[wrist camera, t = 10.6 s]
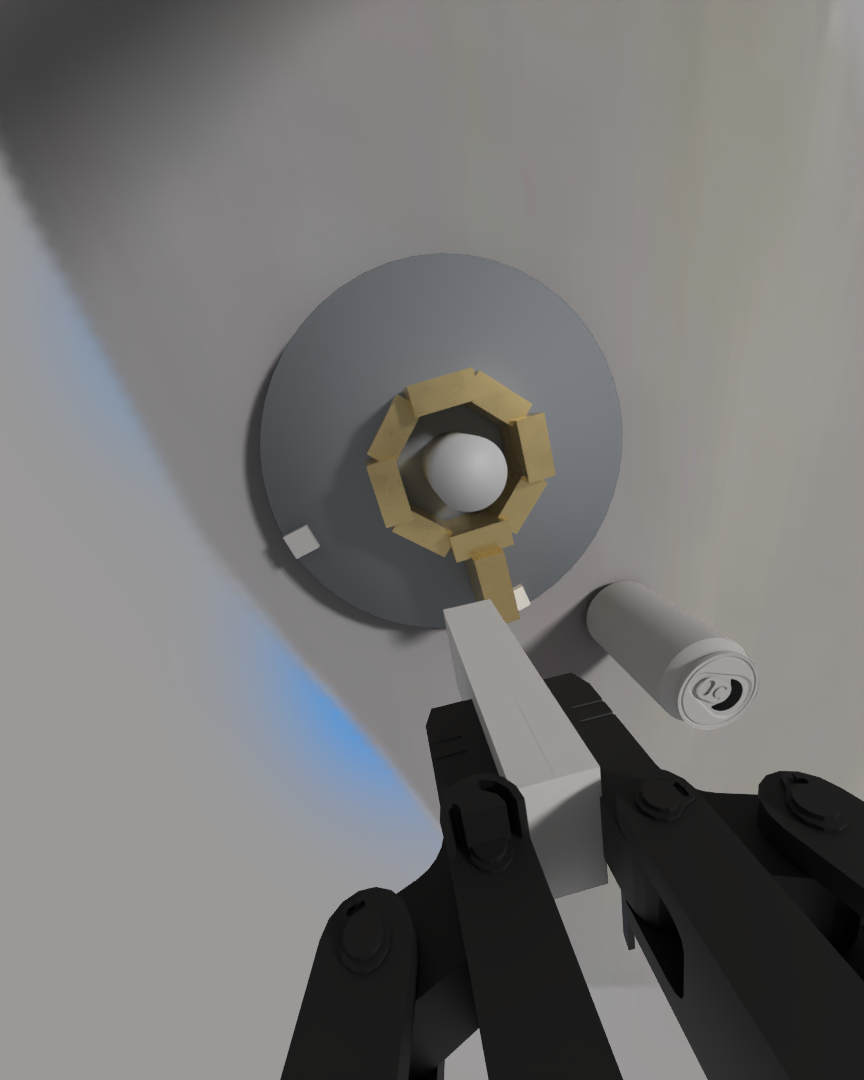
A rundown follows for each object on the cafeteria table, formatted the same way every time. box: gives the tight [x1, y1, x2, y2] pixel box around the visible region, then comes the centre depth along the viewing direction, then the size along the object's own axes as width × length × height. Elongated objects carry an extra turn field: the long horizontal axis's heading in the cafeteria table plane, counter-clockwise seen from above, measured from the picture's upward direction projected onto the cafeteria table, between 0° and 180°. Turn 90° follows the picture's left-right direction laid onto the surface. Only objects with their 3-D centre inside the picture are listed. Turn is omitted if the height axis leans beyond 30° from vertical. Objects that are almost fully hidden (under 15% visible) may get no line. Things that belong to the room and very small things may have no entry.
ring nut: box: [366, 367, 556, 623], centre depth 28 cm, size 16×11×5 cm
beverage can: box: [586, 581, 760, 730], centre depth 32 cm, size 6×6×12 cm
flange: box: [260, 253, 622, 628], centre depth 28 cm, size 26×26×8 cm
